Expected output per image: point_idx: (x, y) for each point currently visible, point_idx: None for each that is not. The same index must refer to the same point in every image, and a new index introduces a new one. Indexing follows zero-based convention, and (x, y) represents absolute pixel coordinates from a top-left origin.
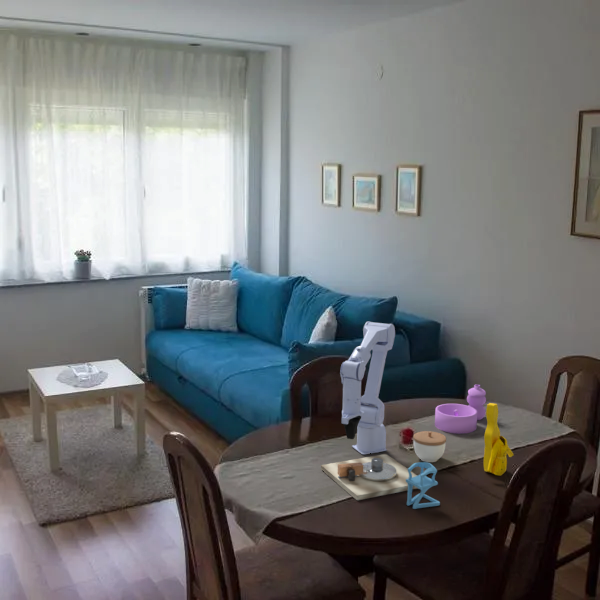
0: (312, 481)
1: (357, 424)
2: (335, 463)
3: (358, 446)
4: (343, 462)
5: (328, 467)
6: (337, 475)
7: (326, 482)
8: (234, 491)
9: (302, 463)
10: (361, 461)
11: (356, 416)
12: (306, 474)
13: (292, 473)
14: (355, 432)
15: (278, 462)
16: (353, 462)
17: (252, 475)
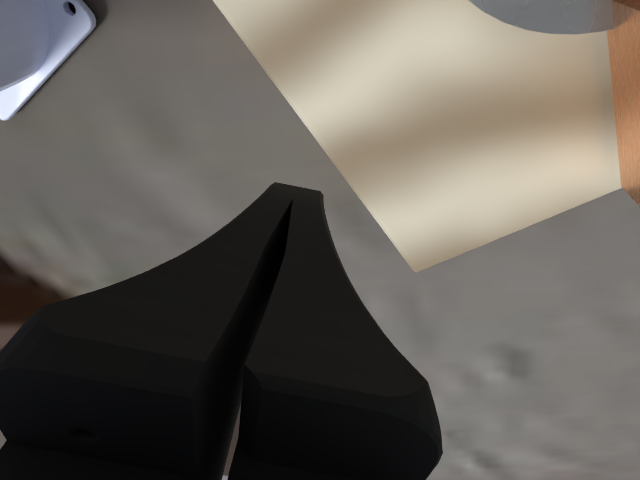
0: (579, 280)
1: (223, 283)
2: (379, 203)
3: (23, 75)
4: (352, 156)
5: (450, 236)
6: (593, 176)
7: (607, 216)
8: (632, 474)
9: None
10: (303, 15)
11: (101, 443)
12: (482, 307)
13: (469, 353)
14: (273, 216)
15: None
16: (337, 83)
17: (490, 446)
